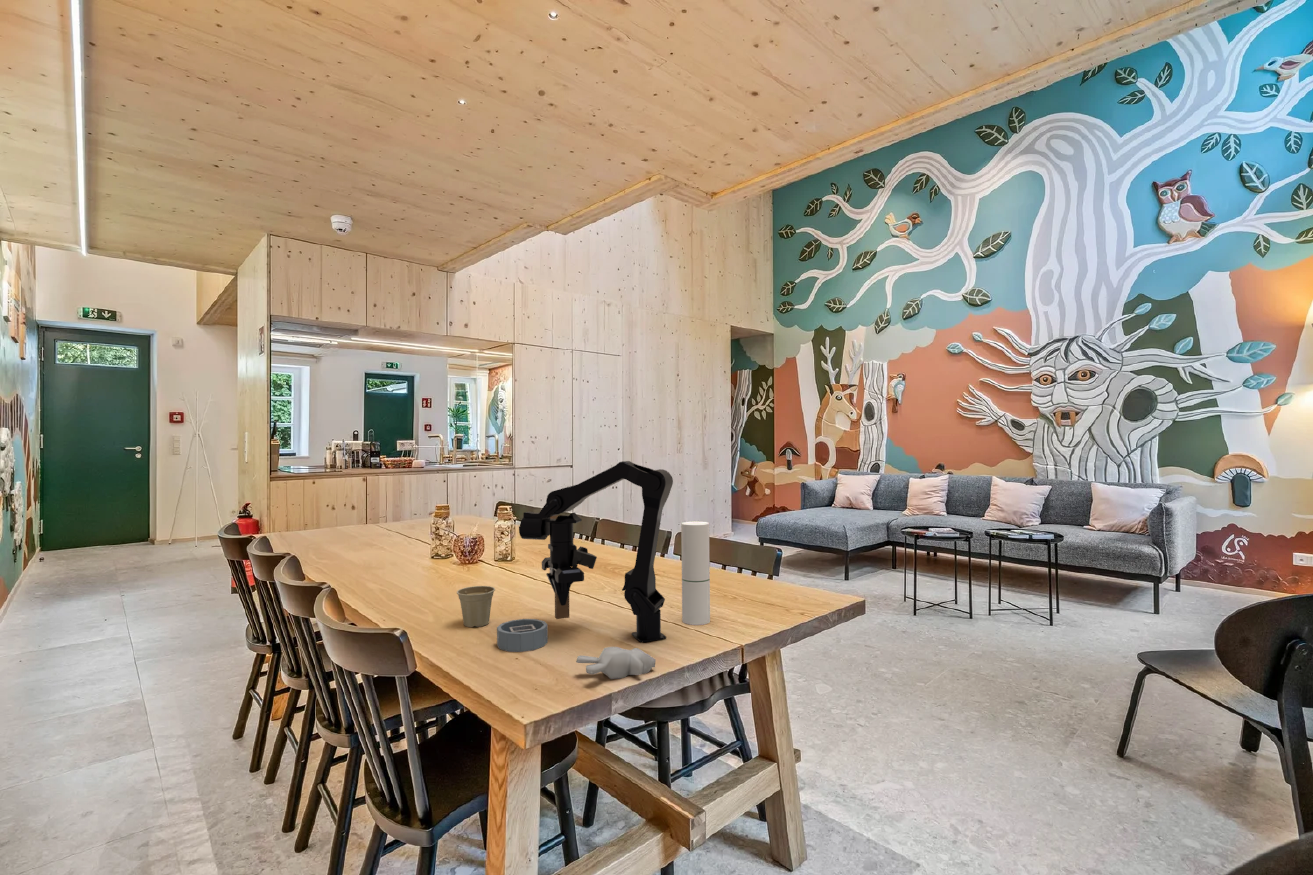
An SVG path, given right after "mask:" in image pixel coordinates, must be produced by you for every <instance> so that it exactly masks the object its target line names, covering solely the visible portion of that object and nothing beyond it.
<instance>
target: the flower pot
mask: <svg viewBox="0 0 1313 875" xmlns="http://www.w3.org/2000/svg"><path fill="white" fill-rule="evenodd" d="M495 591H496V588H495V587H494V586H491V585H490V586H489V585H474V586H466V587H462V588H460V589H458V590H457V591H456V594H457V595H458V596H457V597H458V600H459V601H460V609H461V614H462V621H463V626H464V627H467V628H473V627H478V628H479V627H484V626H487V625H488V624H489V622H490V618H491V617H490V616H491V610H492V608H491V607H492V600H493V596H494V592H495Z"/></svg>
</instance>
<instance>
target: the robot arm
mask: <svg viewBox="0 0 1313 875" xmlns="http://www.w3.org/2000/svg"><path fill="white" fill-rule="evenodd" d="M623 480H626V481H628V482H630V483H632V484H634V485H636V486H637V487H641V497H642V502H643V513H642V520H641V525H640V530H639V531H640V533H639V538H638V544H637V551H636V558H635V564H634V567H633V568H632V569H630V570H629V571H626V572H625V573H624V584H623V587H622V589H621V591H624V595H623V596H624V600H625V601H626V602H627V603H628V604H629V605H630V609H631V611H632V615H633V616H635V617H636V621H635V623H636V625H635V626H636V629H635V630H636V631H633V632H631V636H633V638H635V639H636V640H638V642H639V643H646V642H653V641H654V642H655V641H660V640H661V641H662V640H667V636H666V634H664V633H662V626H661V625H662V624H661V623H662V621H661V608H662V607H664V603H665V601H666V598H665V597H664V596H663V595H662V594H661V592H660V591H658V590H657V588H656V584H657V582H656V581H657V580H656V573H655V572H656V571H655V568H654V567H655V566H654V564H655V559H656V553H657V546H658V545H657V544H658V540H659V533H660V528H661V521H662V514H663V510H664V507H665V505H666V503H667V501H668V498H669V496H670V494H671V491H672V489H673V488H672V487H673V484H674V479H673V476H672V474H670V472H669V471H667V470H666V469H653V468H649V467H648V466H647V467H646V466H643V465H639V464H636V463H633V461H630V460H624V461H619V462H618V463H616V465H613V466H612V467H610V468H607V469H606V470H603V471H602V472H599V473H598V474H595V475H593V476H592V477H589V478H588V479H585V480H584V481H581V482H580V483H578V484H574V485H570V486H566V487H563V488H559V489H557V490H556V489H555V490H552V491H550V492H549V493H548V494H547V496H546V503H545V504H544V505H543V507H542V508H541V510H540V511H539V512H535V511H525V512H523V513H522V515H523V517H522V518H521V520H520V523H519V526H518V533H519V536H520V538H521V539H523V540H539V541H540V540H542V541H545V540H547V538H548V537H549V543H548V544H547V548H548V549H549V556H550V557H549V556H548V557H544V558H543V559H542V560H541V570H542V571H547V569H549V572H548V573H546V577H547V579H548V581H549V583H550V586H551V588H552V590H553V592H554V594H555V590H556V593H557V596H558V599H559V601H560V604H561V605H562V606H563V605H566V601H567V598H568V594H569V595H570V589H571V587H572V585H573V584H574V583H579V582H584V581H585V573H584V571H583V570H582V569H581V568H580V567H578V565H579V566H584V567H587V568H588V569H591V570H594V568H595V564H596V561H597V558H598V557H597V556H596V555H594V554H593V553H590V552H589V551H588V548H586V547H584V546H579V548H577V544H574V524H578V523H580V522H582V518H581V517H580V516H578V515H577V513H576V512H575V511H574V512H571V511H573V510H574V509H576V508H577V507H578V506H580V505H581V504H582V503H583V502H584V501H585V500H586V499H588V498H589V497H591V496H593V495H595V494H597V493H598V492H601V491H602V490H606V489H607V488H609V487H611V486H612V485H615V484H617V483H619V482H621V481H623ZM568 512H570V514H567V515H566V514H565V515H561V514H563V513H568ZM556 516H557V517H556ZM551 517H552V518H551ZM553 517H556V518H553Z"/></svg>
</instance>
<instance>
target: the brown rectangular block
mask: <svg viewBox="0 0 1313 875" xmlns="http://www.w3.org/2000/svg"><path fill="white" fill-rule="evenodd" d="M554 618H555V619H556V620H562V619H569V618H570V593H569V594H568V598H567V601H566V605H563V606H562V605H561V604H560V601H559V599H558V596H557V593H556V590H555V593H554Z"/></svg>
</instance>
